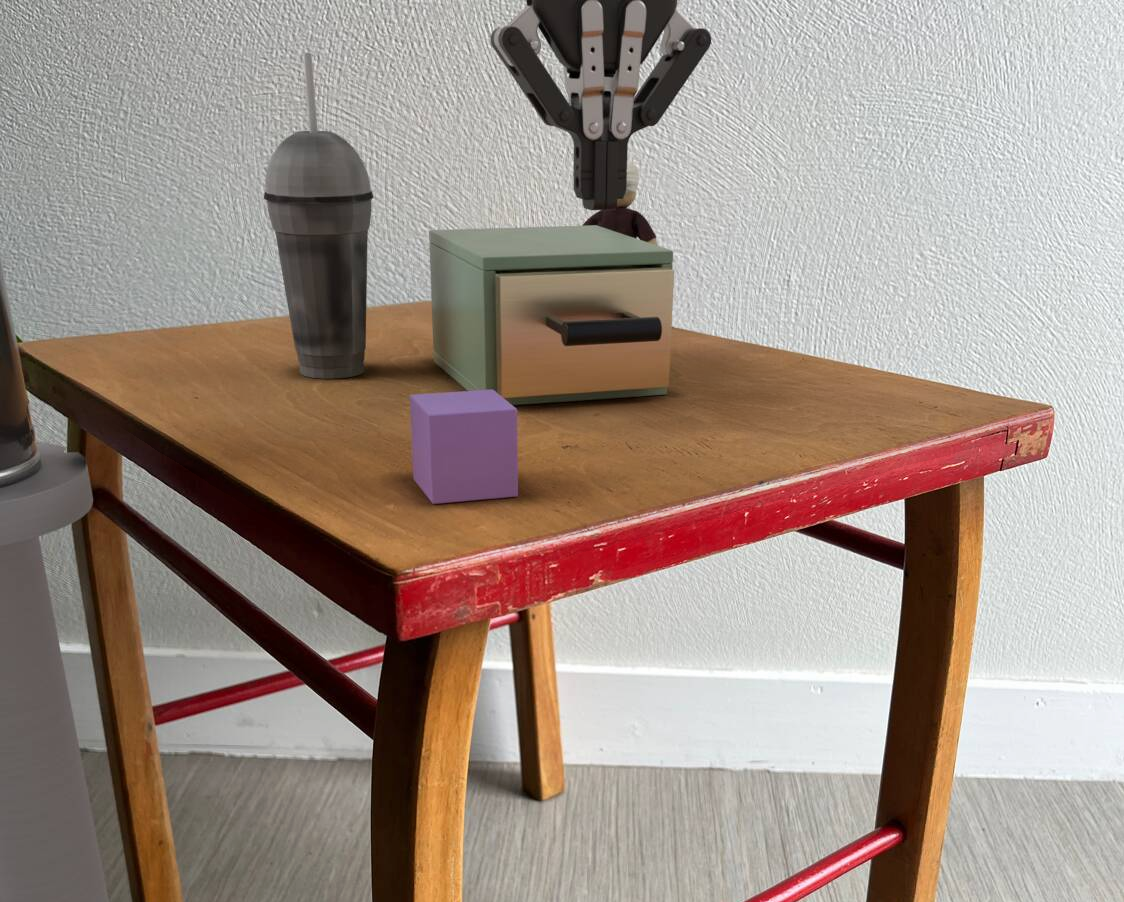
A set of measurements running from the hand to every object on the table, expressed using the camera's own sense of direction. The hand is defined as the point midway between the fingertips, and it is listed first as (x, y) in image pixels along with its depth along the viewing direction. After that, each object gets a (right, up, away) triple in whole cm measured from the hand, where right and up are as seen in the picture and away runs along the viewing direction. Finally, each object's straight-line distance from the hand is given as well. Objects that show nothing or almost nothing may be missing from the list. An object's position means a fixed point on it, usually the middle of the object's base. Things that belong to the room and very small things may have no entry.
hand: (599, 208), depth 76 cm
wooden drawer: (-2, -7, +10) cm, 12 cm away
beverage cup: (-19, -5, +15) cm, 25 cm away
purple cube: (-7, -18, -9) cm, 22 cm away
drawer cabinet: (-3, -6, +14) cm, 16 cm away
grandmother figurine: (+2, +4, +33) cm, 33 cm away
